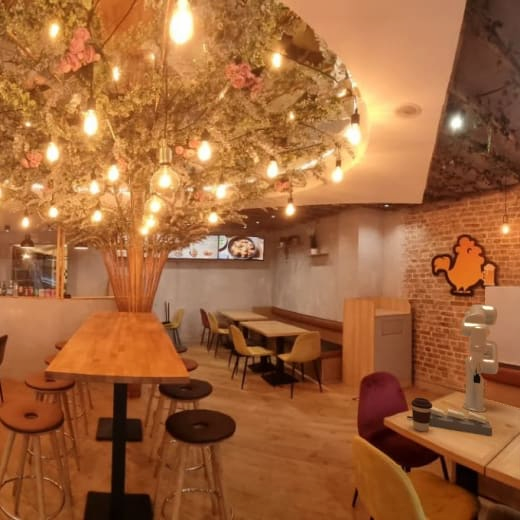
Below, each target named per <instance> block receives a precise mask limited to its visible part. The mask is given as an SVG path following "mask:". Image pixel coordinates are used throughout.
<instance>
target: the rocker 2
mask: <svg viewBox="0 0 520 520" xmlns="http://www.w3.org/2000/svg"><path fill="white" fill-rule="evenodd" d="M467 411H468V413H467V418H468V419H474V420H476V421H479V422H482V423H484V424H486V421H487V418H486V416H484V415H481V414H478V413H474V412H473V411H471V410H467Z"/></svg>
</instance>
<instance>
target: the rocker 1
mask: <svg viewBox="0 0 520 520" xmlns="http://www.w3.org/2000/svg"><path fill="white" fill-rule="evenodd" d="M431 413H433V414H436V415H439V416H441V417H443V415H445V413H444V410H443V409H440V408H437V407H435V406H432V408H431Z"/></svg>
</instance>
